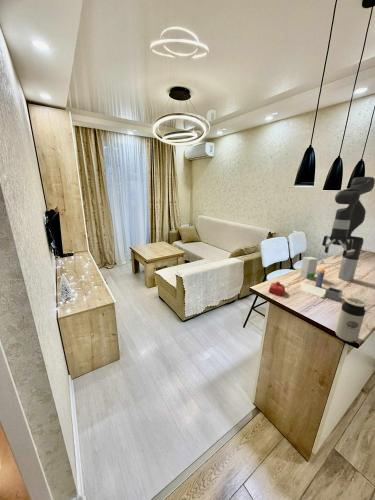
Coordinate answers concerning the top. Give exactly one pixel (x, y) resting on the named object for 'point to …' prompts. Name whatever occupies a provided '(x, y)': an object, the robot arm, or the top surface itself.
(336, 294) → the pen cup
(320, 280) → the marker
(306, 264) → the skincare box
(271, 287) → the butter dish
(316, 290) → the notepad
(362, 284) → the top surface
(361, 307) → the travel mug
